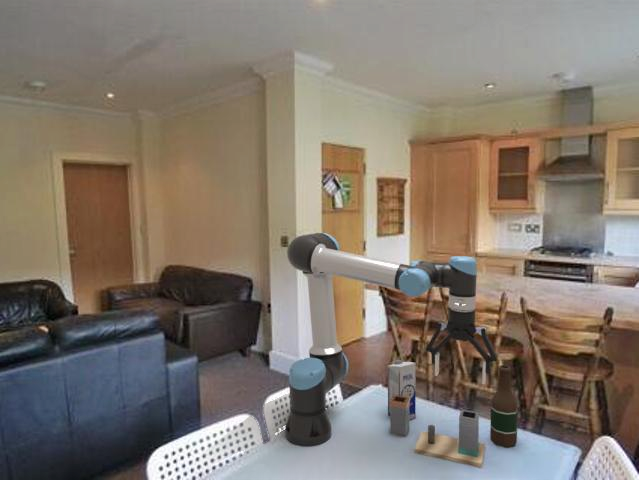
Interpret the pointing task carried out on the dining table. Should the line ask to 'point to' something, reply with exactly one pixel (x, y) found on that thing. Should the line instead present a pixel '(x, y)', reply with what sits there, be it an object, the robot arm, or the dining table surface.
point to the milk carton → (402, 383)
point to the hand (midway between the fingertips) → (459, 378)
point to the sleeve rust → (399, 415)
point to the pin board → (446, 448)
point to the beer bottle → (504, 411)
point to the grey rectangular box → (468, 433)
